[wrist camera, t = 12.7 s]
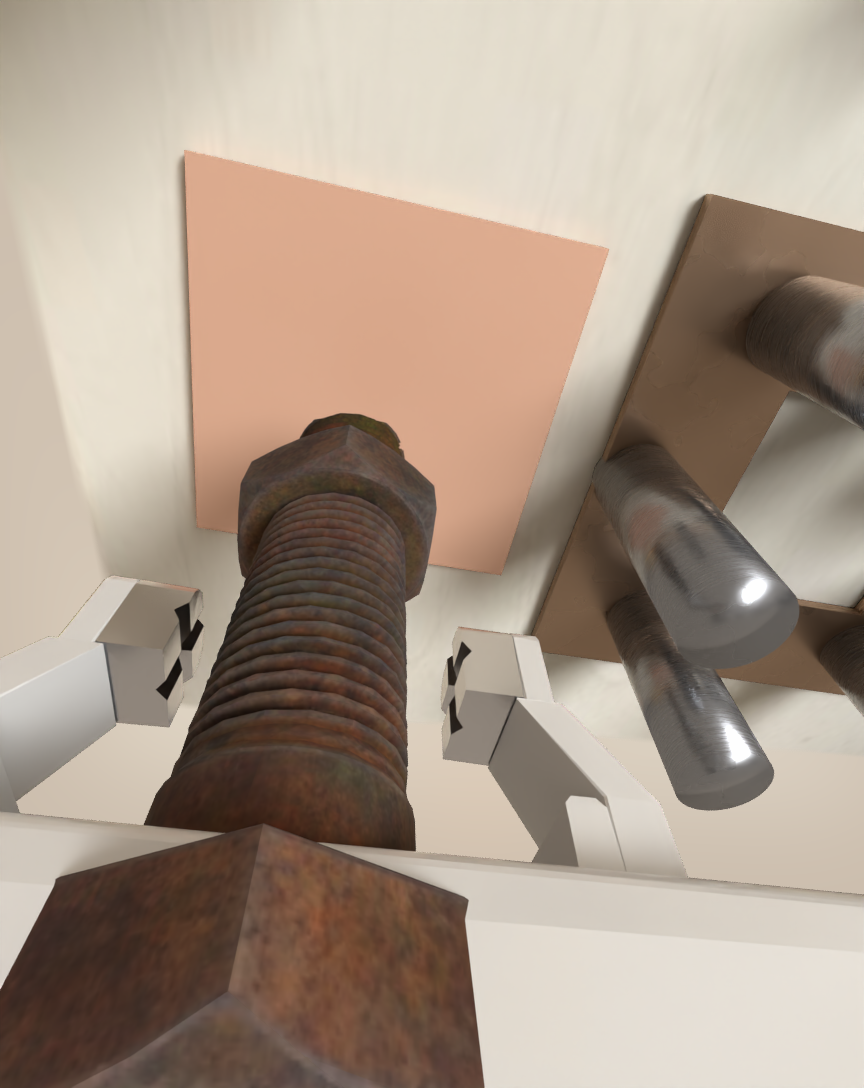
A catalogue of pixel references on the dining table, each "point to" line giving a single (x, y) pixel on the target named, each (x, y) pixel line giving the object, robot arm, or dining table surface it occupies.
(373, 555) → the bolt
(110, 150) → the dining table surface
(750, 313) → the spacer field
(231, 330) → the pad
